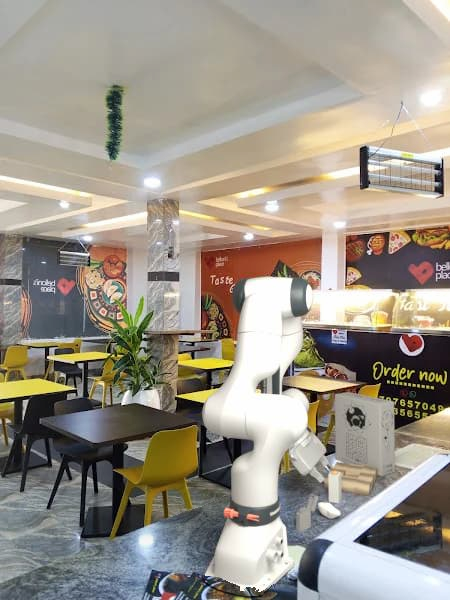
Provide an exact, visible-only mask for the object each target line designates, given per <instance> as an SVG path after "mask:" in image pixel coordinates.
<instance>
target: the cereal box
mask: <svg viewBox="0 0 450 600" xmlns="http://www.w3.org/2000/svg"><path fill="white" fill-rule="evenodd" d="M334 414H335V415H334V420H335V422H334V428H335V430H334V433H335V435H334V437H335V438H334V439H335V460H337V461H338V462H339V461H340V462H341V463H347V464H355V465H362V466H370V467H377V468H378V477H383V476H386V475H390V474H394V473H395V472H396V460H395V459H396V454H395V452H396V451H395V450H396V449H395V446H396V445H395V444H396V443H395V441H396V440H395V439H396V438H395V401H393V400H388V399H382V398H379V397H373V396H370V395H364V394H360V393H354V392H350V391H347V392H346V391H345V392H341V393H335V394H334Z"/></svg>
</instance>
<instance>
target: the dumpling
mask: <svg viewBox="0 0 450 600" xmlns="http://www.w3.org/2000/svg"><path fill="white" fill-rule="evenodd" d="M317 508H318V510H319V512H320V513H321V514H322V516H324V517H326V518H328V519H329V520H331V519H332V520H333V519H335V518H338V517H339V516H341V510H339V509H337V508H336V507H335V506H334V505H332V504H331V502H320V501H319V502H317Z"/></svg>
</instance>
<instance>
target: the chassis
mask: <svg viewBox="0 0 450 600" xmlns="http://www.w3.org/2000/svg"><path fill="white" fill-rule="evenodd" d="M332 470H337V471H338V472H341V493H342V492H343V493H348V494H354V495H355V494H356V495H361V496H367V497H370V495H371V493H372V491H373V489H374V486H375V484H376V482H377V479H378V477H379V476H378V468H377V467H370V466H362V465H355V464H347V463H344V462H341V461H340V462H339V461H337V462H336V463H335V464H334V465H333V466H332V469H331V470H330V471H329V472H328V474H327V475H326V477H325V479H324V481H323V483H324V490H329V481H328V475H329V474H330V472H331V471H332Z"/></svg>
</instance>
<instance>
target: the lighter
mask: <svg viewBox="0 0 450 600" xmlns="http://www.w3.org/2000/svg"><path fill="white" fill-rule="evenodd" d="M318 500H319V496H318V495H316V494H314V493H311V494H310V495H309V500H308V502H307V505H306V506H307V507H305V506H303V507H300V508H299V511H298V512H295V530H296V531H298V532H303V531H306V530H308V529H310V528H311V527H312V522H311V521H312V515H311V513H312V512H313V513H315V510H316V506H317V505H318Z"/></svg>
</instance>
